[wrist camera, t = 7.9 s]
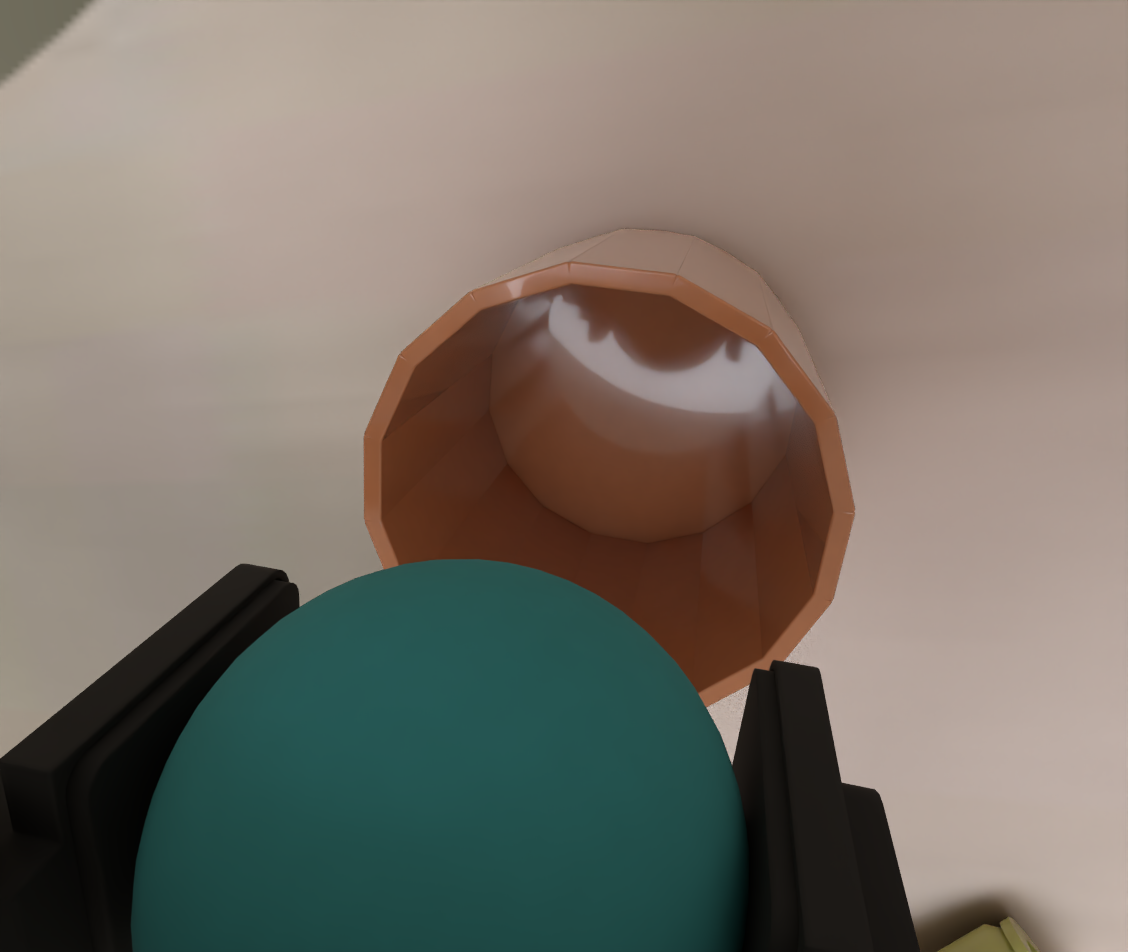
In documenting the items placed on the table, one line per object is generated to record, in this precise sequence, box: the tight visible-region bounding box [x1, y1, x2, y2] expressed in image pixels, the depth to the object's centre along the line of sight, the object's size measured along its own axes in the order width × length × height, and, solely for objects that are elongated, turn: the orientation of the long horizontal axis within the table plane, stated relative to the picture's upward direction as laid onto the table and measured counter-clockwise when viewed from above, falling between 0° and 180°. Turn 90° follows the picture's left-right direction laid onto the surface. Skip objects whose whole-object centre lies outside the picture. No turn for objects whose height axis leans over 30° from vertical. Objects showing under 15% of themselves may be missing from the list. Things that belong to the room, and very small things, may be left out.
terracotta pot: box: [364, 228, 855, 707], centre depth 20 cm, size 10×10×9 cm
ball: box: [131, 559, 749, 952], centre depth 8 cm, size 6×6×6 cm
